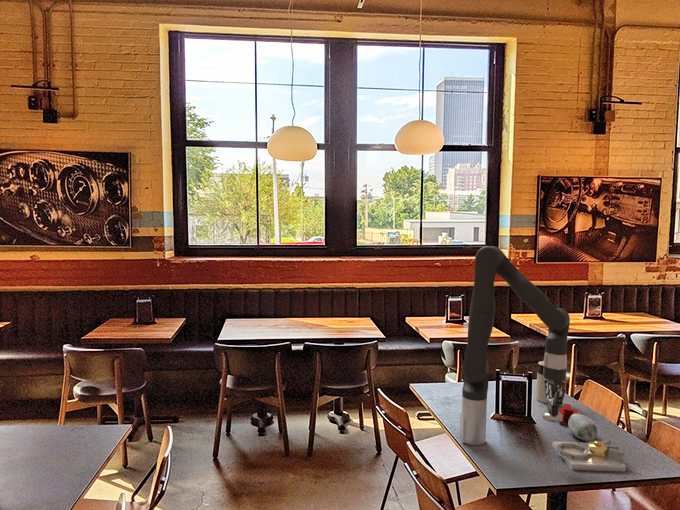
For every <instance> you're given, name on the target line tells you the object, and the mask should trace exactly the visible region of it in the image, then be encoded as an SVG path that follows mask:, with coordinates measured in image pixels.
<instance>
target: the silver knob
mask: <svg viewBox="0 0 680 510" xmlns="http://www.w3.org/2000/svg"><path fill="white" fill-rule="evenodd" d="M554 399H555V398H554ZM551 406H552V398H549V408H548V407H547V410H543V412H542V419H543V420H545V421H546V422H551V423H559V422H562V418H563V415H562V414H561V413H559V411H558V415H557V416H556V415H552V414H551Z"/></svg>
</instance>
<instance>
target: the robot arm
mask: <svg viewBox="0 0 680 510" xmlns="http://www.w3.org/2000/svg"><path fill="white" fill-rule="evenodd" d="M496 275H498V276H499V277H500V278H502V279H503V281H505V282H506V283H507V284H508V286H509V287H510V288H511V290H512V291H513V292H514V293H515V295H516V296H517V297H518V298H519V299H520V300H521V301H522V302H523V303H524V304H525V305H527V306H528V308H529V309H530V310H532V311H533V312H534V313H535V314H536V316H537V317H538V318H539V319H540V321H542V322H543V324H544V325H545V326H546V327H547V328H548V329H547V336H546V337H545V342H544V343H545V344H544V345H545V346H544V348H545V349H544V356H543V361H544V368H543V377H544V378H546V379H547V380H544V385H545V396H546V397H547V400H548V403H547V409H548V408H549V398H552V406H551V414H552V415H556V416H557V415H558V412H559V406H563V402H564V398H565V394H566V393H565V391H564V390H563V386H562V382H564V381H566V380H567V371H568V369H567V368H568V366H567V365H568V359H567V358H568V357H567V356H568V355H567V352H568V336H569V332H570V331H569V330H570V323H571V322H570V321H571V318H570V313H569V312H568V311H567V310H566V309H564V308H561V307H555V305H554V304H553V303H551V302H550V298H549V296H547V295H546V293H544V292H543V291H542V290H541V289H540V288H539V287H537V286H536V285H535V284H534V283H533V282H532V281H530V280H529V279H528V278H527V277H526V276H525V275H524V274H523V273H521V271H519V270H518V268H517V267H516V266H515V265H514V264H513V263H512V261H510V259H509V258H508V256H507V255H506V254H505V252H503V251H502V250H501V249H500V248H499V247H497V246H492V245H491V246H490V245H488V246H487V245H486V246H482V247H481V248H480V249H478V250H477V252H476V254H475V257H474V279H473V280H474V281H473V289H472V295H471V302H470V307H469V315H468V324H467V325H468V327H467V344H466V349H465V354H464V358H463V362H462V366H461V372H462V375H463V385H462V386H463V387H462V392H461V393H462V394H461V412H460V416H459V417H460V418H459V424H460V425H459V438H460V440H461V443H462V444H466V445H471V446H482V445H484V444H486V441H487V439H486V438H487V411H488V410H487V407H488V406H487V405H488V404H487V403H488V391H489V381H490V380H489V377H490V365H489V361H488V359H487V351H488V346H489V342H490V339H491V335H492V331H493V328H494V324H495V317H496V295H495V289H494V288H495V281H496V280H495V278H496ZM554 398H555V399H554Z"/></svg>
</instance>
